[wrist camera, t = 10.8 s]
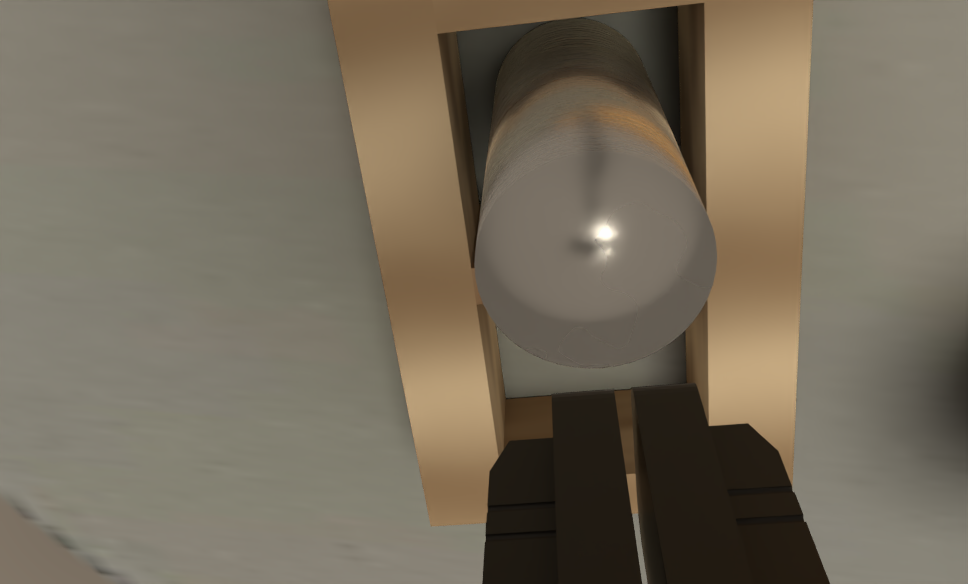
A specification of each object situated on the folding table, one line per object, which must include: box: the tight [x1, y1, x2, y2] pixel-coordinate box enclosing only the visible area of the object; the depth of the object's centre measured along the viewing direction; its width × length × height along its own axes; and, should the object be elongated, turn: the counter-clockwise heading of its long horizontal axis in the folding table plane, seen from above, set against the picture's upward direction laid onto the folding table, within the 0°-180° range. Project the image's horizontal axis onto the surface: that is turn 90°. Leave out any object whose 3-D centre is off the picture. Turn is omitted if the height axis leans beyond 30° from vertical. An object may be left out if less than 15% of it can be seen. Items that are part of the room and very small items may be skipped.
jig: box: [327, 0, 813, 526], centre depth 24 cm, size 15×10×4 cm, turn 7°
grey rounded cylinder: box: [474, 18, 717, 368], centre depth 19 cm, size 4×4×10 cm
